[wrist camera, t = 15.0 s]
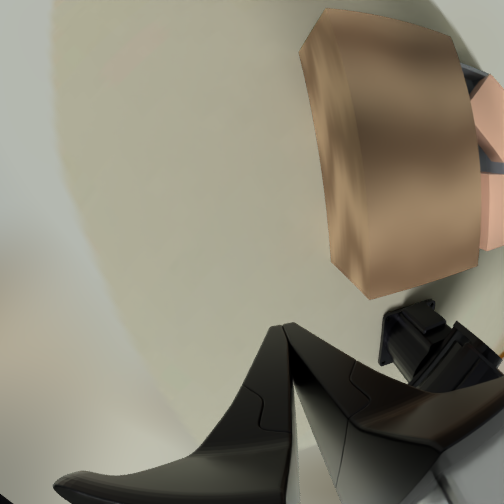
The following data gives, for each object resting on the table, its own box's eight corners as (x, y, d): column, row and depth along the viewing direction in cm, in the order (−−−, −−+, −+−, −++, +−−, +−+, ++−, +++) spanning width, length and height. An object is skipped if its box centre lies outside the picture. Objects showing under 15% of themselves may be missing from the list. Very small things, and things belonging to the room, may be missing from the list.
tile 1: (443, 233, 21) (462, 229, 21) (486, 251, 15) (504, 245, 15) (441, 169, 19) (461, 169, 19) (488, 174, 13) (506, 174, 13)
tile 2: (462, 111, 15) (453, 115, 18) (503, 162, 15) (491, 161, 17) (490, 73, 12) (479, 80, 15) (529, 123, 12) (516, 125, 14)
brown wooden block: (426, 241, 21) (477, 265, 15) (331, 261, 21) (369, 299, 15) (403, 60, 16) (450, 36, 10) (298, 52, 16) (325, 8, 10)
